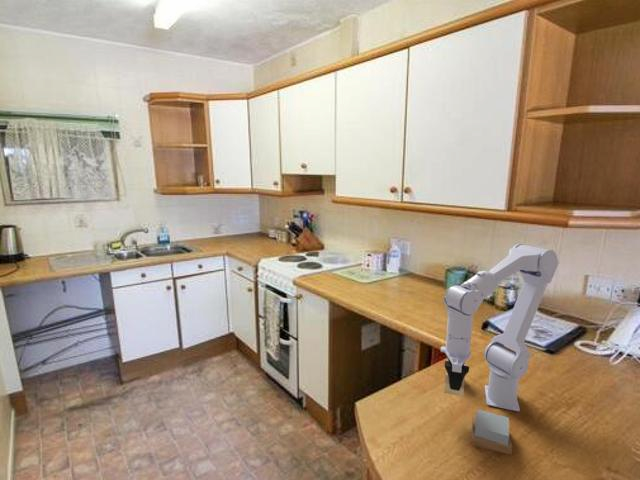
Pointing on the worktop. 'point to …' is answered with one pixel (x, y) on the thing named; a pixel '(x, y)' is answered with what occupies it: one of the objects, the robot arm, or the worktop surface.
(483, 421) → the slate slab
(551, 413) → the worktop surface
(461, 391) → the oak block
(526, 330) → the robot arm
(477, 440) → the walnut slab
